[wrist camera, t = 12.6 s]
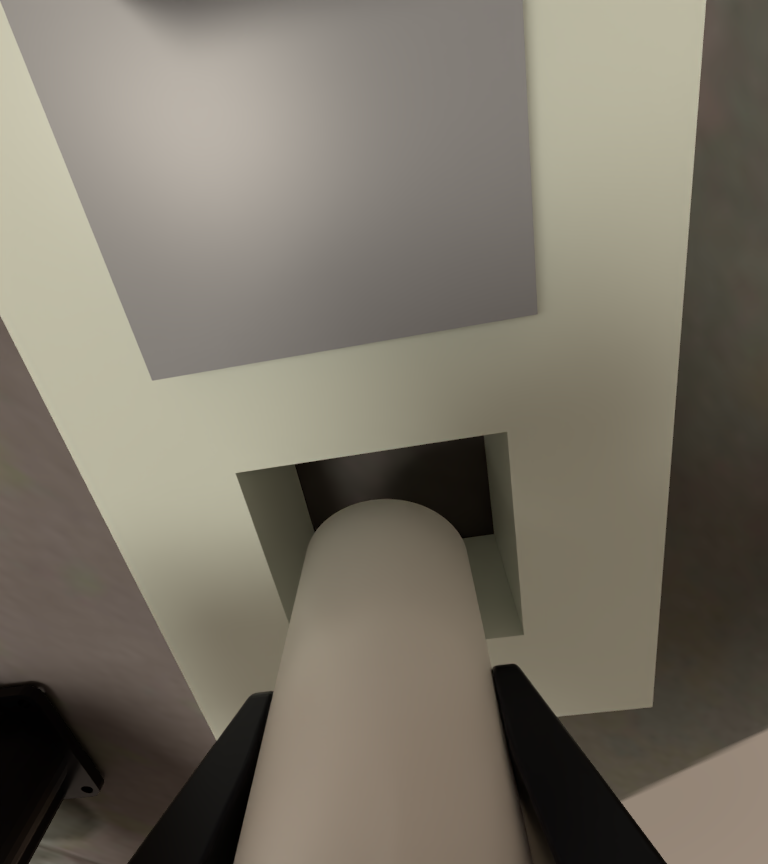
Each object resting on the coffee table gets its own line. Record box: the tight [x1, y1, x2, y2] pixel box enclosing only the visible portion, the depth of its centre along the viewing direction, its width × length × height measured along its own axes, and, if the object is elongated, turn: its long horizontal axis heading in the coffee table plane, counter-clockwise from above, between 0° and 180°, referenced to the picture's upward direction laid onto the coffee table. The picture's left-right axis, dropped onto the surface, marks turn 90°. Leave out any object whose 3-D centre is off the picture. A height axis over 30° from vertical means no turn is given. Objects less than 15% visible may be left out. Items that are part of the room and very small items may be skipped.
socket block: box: [0, 0, 706, 741], centre depth 12 cm, size 18×12×4 cm, turn 10°
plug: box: [233, 499, 533, 864], centre depth 7 cm, size 4×4×9 cm
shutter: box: [0, 0, 538, 381], centre depth 6 cm, size 7×7×4 cm
